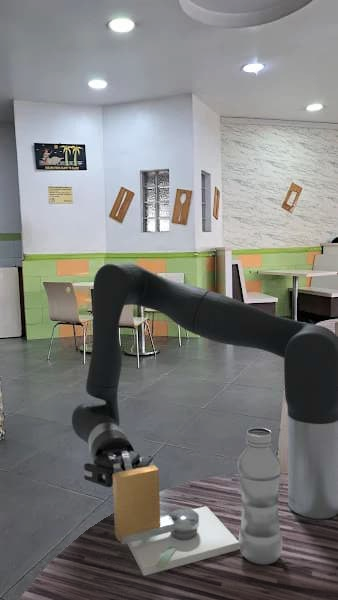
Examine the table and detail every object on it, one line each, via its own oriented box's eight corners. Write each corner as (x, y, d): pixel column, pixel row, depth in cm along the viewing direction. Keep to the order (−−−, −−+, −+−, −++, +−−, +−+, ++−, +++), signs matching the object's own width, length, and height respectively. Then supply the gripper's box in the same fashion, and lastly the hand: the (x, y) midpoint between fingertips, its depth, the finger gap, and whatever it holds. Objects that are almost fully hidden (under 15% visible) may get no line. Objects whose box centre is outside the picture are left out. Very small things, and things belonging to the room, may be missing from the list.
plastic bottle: (283, 573, 70) (283, 441, 68) (237, 568, 71) (235, 438, 69) (282, 546, 76) (281, 425, 74) (239, 542, 77) (238, 423, 76)
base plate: (205, 510, 87) (204, 498, 87) (243, 553, 75) (242, 539, 74) (120, 530, 82) (120, 517, 81) (146, 580, 69) (145, 565, 69)
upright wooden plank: (191, 512, 82) (189, 453, 81) (204, 527, 77) (203, 464, 76) (112, 532, 76) (109, 469, 75) (121, 550, 72) (118, 482, 71)
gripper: (74, 433, 89) (88, 473, 73) (142, 425, 93) (170, 461, 77) (75, 471, 90) (89, 520, 74) (143, 461, 94) (170, 505, 78)
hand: (131, 490), depth 75 cm, fingers closed
